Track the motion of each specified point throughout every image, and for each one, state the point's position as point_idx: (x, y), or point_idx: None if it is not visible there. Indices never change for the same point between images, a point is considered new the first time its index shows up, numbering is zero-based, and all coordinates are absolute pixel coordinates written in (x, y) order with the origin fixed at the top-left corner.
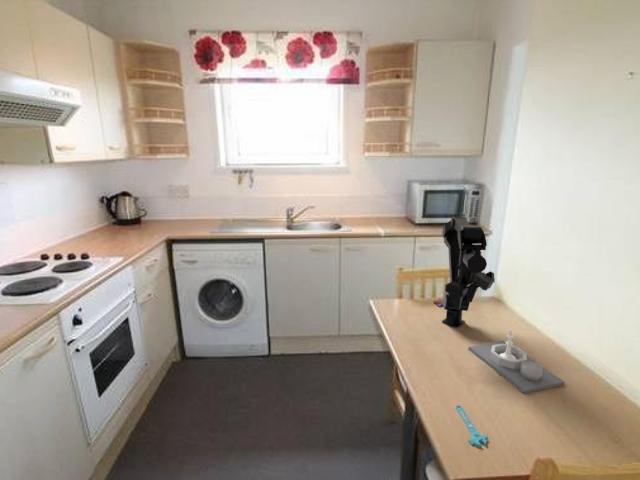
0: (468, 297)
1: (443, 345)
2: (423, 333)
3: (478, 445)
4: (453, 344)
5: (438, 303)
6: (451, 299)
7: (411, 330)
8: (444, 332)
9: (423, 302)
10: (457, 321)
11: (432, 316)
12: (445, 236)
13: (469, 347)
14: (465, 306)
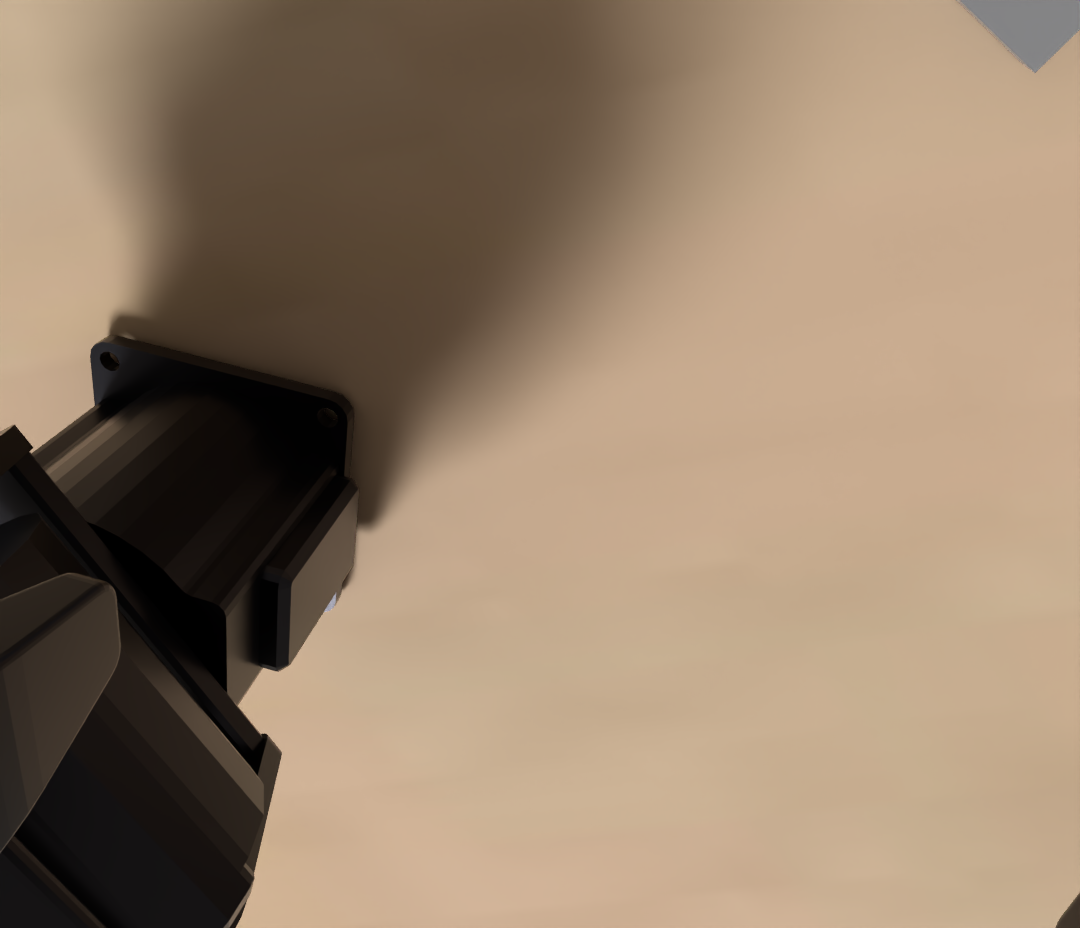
0: (19, 790)
1: (1049, 463)
2: (795, 737)
3: None
4: (939, 337)
5: None
6: (177, 914)
7: (790, 853)
8: (604, 523)
9: None
10: (258, 449)
11: (262, 713)
12: None
13: (1058, 49)
14: (44, 534)
